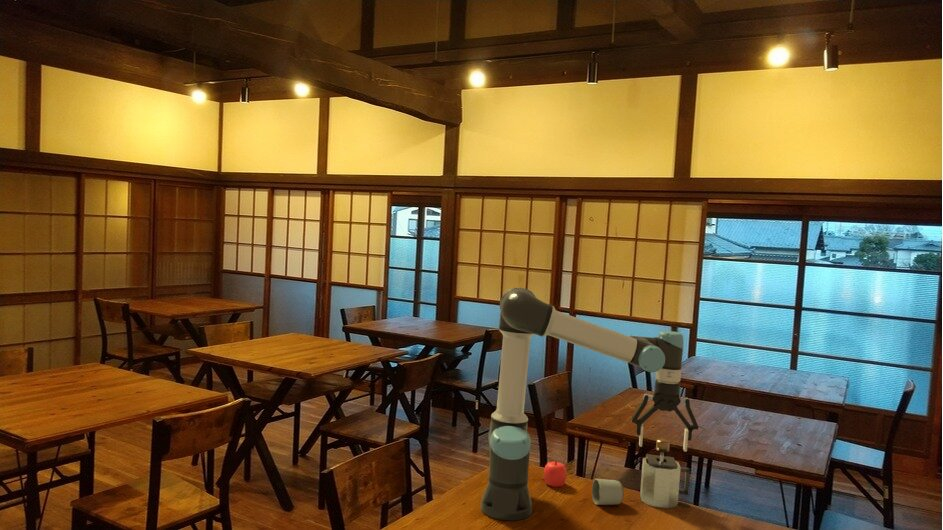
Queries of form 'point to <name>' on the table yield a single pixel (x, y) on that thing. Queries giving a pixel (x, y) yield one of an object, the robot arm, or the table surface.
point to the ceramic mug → (607, 492)
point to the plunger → (662, 447)
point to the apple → (555, 474)
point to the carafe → (662, 481)
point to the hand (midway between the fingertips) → (662, 447)
